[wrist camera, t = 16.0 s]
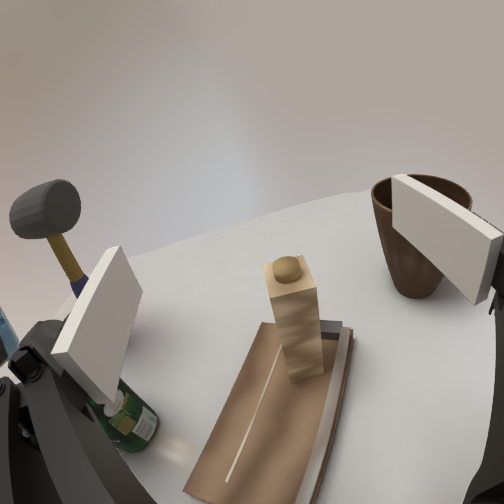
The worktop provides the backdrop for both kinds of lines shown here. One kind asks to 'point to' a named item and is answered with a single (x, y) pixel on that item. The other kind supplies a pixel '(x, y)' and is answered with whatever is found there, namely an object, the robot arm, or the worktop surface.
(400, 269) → the plant pot
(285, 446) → the walnut board
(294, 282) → the beige tall block
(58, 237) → the rubber mallet
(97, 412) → the coffee jar
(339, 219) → the worktop surface
